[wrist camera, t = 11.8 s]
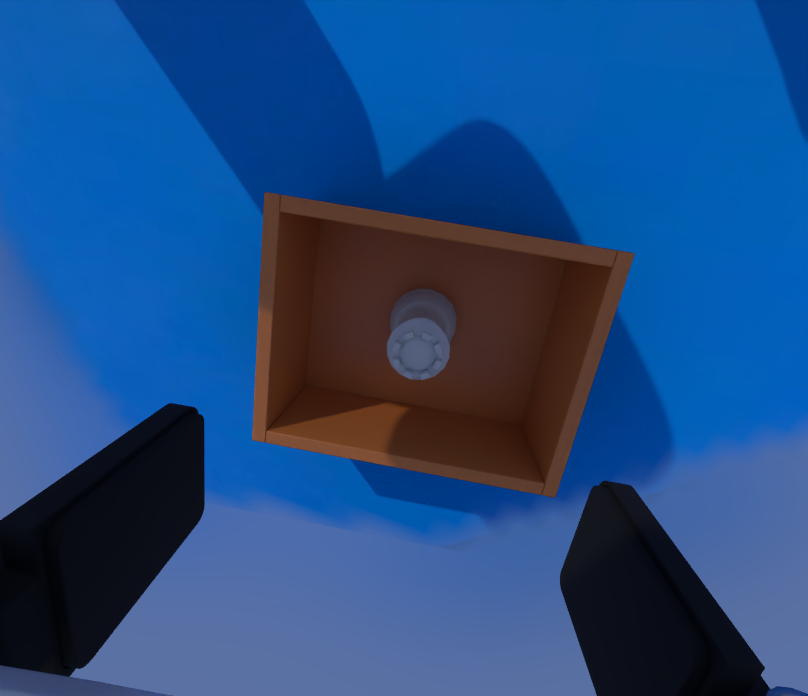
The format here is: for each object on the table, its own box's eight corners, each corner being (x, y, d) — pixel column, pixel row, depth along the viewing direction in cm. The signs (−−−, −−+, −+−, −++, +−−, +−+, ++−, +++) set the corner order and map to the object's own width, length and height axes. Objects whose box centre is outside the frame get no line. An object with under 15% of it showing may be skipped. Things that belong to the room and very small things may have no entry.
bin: (296, 389, 30) (251, 440, 23) (312, 200, 26) (263, 191, 19) (527, 432, 30) (555, 498, 23) (580, 245, 26) (635, 253, 18)
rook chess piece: (430, 363, 28) (427, 414, 21) (378, 326, 28) (355, 365, 20) (470, 312, 27) (481, 347, 19) (415, 273, 26) (405, 293, 19)
